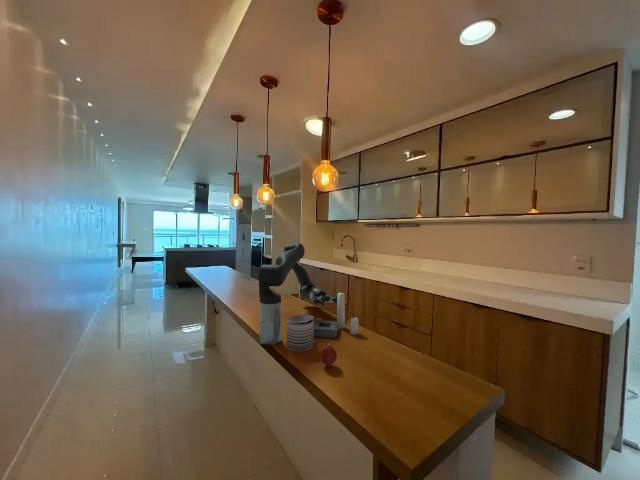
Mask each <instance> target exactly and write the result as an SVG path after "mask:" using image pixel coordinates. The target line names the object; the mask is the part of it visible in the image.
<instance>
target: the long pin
mask: <svg viewBox="0 0 640 480" xmlns="http://www.w3.org/2000/svg"><path fill="white" fill-rule="evenodd" d="M336 296H337V305H336V306H337V309H336V311H337V312H336V313H337V314H336V316H337V317H336V319H337V322H338V329H345V313H346V312H345V310H346V309H345V305H346V304H345V301H346V297H345V296H346V295H345V293H344V292H338V293H337V295H336Z"/></svg>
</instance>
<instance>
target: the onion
mask: <svg viewBox="0 0 640 480" xmlns="http://www.w3.org/2000/svg"><path fill="white" fill-rule="evenodd" d="M337 357H338V353H337V351H336V349H335V348H334V347H332V345H331V343H328V344H327V345H326V346H324V347H323V349H322V350H321V353H320V360H321V362H322V363H323V364H324V365H326V366H328V367H330V366H332V365H333V364H334V363H335V362H336V361H337Z"/></svg>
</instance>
